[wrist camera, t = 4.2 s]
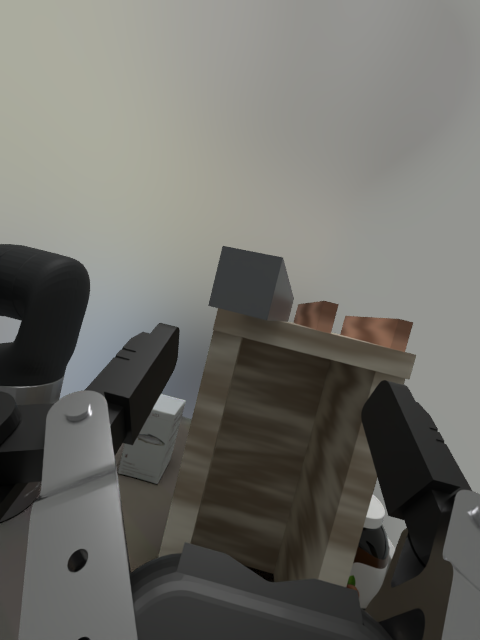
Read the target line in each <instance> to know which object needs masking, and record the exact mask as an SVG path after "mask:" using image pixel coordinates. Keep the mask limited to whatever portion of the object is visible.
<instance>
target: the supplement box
mask: <svg viewBox="0 0 480 640" xmlns="http://www.w3.org/2000/svg"><path fill="white" fill-rule="evenodd" d="M185 402H186V401H185V400H182V399H178V398H174V397H171V396H167V395H163V394H161V395H160V397H159V398H158V400H157V402H156V404H155V406H154V407H153V409H152V411H151V413H150V415H149V417H148V418H147V420H146V422H145V424H144V426H143V428H142V429H141V431H140V433H139V435H138V437H137V438H136V440H135V442H134V444H133V445H129V444H125V445H124V450H123V454H122V458H121V462H120V466H119V470H118V474H124V475H127V476H131V477H135V478H138V479H142V480H145V481H149V482H152V483H155V484H158V483H159V481H160V479H161V477H162V475H163V473H164V471H165V469H166V467H167V465H168V463H169V462H170V459H171V456H172V452H173V448H174V445H175V441H176V437H177V433H178V429H179V425H180V421H181V417H182V413H183V409H184V406H185Z"/></svg>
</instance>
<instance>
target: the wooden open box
mask: <svg viewBox="0 0 480 640" xmlns="http://www.w3.org/2000/svg"><path fill="white" fill-rule="evenodd" d="M337 308H338V304H335V303H331V302H327V301H320V302H313V303H305V304H299V305H298V308H297V311H296V315H295V319H294V323H291V322H284V321H268V320H263V319H259V318H255V317H251V316H247V315H244V314H240V313H236V312H232V311H228V310H224V309H220V308H218V311H217V316H216V319H215V324H214V328H213V330H214V331H213V335H212V339H211V343H210V347H209V351H208V355H207V360H206V364H205V368H204V372H203V376H202V380H201V385H200V388H199V392H198V397H197V401H196V405H195V409H194V413H193V417H192V421H191V425H190V429H189V433H188V437H187V442H186V446H185V450H184V454H183V458H182V462H181V466H180V470H179V474H178V478H177V483H176V487H175V491H174V495H173V499H172V503H171V507H170V511H169V515H168V519H167V524H166V528H165V532H164V536H163V540H162V544H161V548H160V552H159V556H158V558H159V557H161V556H165V555H169V554H176V553H182V550H183V546H184V543H185V542H186V543H190V544H194V545H197V546H201V547H204V548H208V549H211V550H215V551H218V552H222V553H226V554H228V555H229V556H231V557H232V558H233V559H235V560H236V561H238V562H239V563H241V564H242V565H244V566H248V567H251V568H255V569H258V570H262V571H265V572H269V573H272V574H273V575H274V582H283V581H293V580H304V579H314V578H315V579H318V580H322V581H325V582H329V583H332V584H336V585H339V586H343V587H346V586H347V583H348V579H349V576H350V572H351V569H352V565H353V562H354V558H355V555H356V551H357V547H358V544H359V540H360V537H361V533H362V530H363V526H364V523H365V519H366V516H367V512H368V509H369V505H370V502H371V498H372V494H373V491H374V487H375V484H376V480H377V474H376V470H375V466H374V463H373V459H372V456H371V452H370V449H369V445H368V442H367V438H366V435H365V431H364V428H363V424H362V420H361V412H362V408H363V406H364V404H365V403H366V401H367V400H368V398H369V397H370V396H371V394H372V393H373V391H374V390H375V388H376V387H377V386H378V384H379V383H380V382H381V381H383V380H386V381H390V382H394V383H398V384H402V385H404V381H405V379H410V375H411V372H412V368H413V365H414V361H415V358H416V355H414V354H411V353H407V352H405V349H406V346H407V343H408V339H409V335H410V332H411V328H412V325H413V322H409V321H404V320H400V319H389V318H372V317H354V316H345V320H344V323H343V327H342V330H341V334H340V335H339V334H335V333H331V331H332V327H333V323H334V319H335V316H336V312H337Z"/></svg>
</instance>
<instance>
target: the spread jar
mask: <svg viewBox="0 0 480 640" xmlns="http://www.w3.org/2000/svg"><path fill="white" fill-rule="evenodd" d="M384 514H385V510H384V507H383V506H382V504H381V502H380V501H379V500H378V499H377V498H376V497H375V496H374V495H373V494H372V498H371V502H370V505H369V509H368V512H367V516H366V519H365V523H364V526H363V530H362V533H361V537H360V540H359V544H358V547H357V551H356V555H355V558H354V562H353V565H352V569H351V572H350V576H349V579H348V583H347V586H346V587H347V588H350V589H354V590H357V591H358V596H359V602H360V607H361V608H362V609H363V610H365V609H366V608H367V606H368V604H369V603H370V601H371V600H372V599H373V598H374V596H375V595H376V594H377V593H378V591H379V590H380V588H381V586H382V584H383V581H384V578H385V576H386V573H387V570H388V568H389V565H390V562H391V560H392V557H393V554H394V552H395V548H394V546H393V544H392V543H391V541H390V540H389V538H388V537H387V534H386V531H385V529H384V527H383V525H382V522H383V518H384Z"/></svg>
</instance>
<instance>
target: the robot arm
mask: <svg viewBox="0 0 480 640" xmlns="http://www.w3.org/2000/svg"><path fill="white" fill-rule="evenodd" d="M89 294H90V279H89V275H88V272H87V270H86V269H85V267H84V266H83V264H81V263H80V262H79V261H77V260H75V259H73V258H70V257H66V256H62V255H59V254H55V253H51V252H47V251H43V250H39V249H35V248H31V247H27V246H22V245H11V244H0V316H6V317H10V318H14V319H18V320H22V322H21V325H20V328H19V331H18V334H17V336H16V339H15V341H14V342H11V343H2V344H0V522H2V521H4V520H7V519H9V518H11V517H13V516H15V515H17V514H18V513H20V512H21V511H23V510H24V509H26V508H27V507H28V506H29V505H30V504H31V503H32V502H33V501H34V500H35V498H36V497H37V495H38V493H39V489H40V484H41V481H42V485H41V493H40V496H39V498H38V499H36V500H35V501H34V503H33V506H32V510H31V516H30V524H29V535H28V545H27V556H26V566H25V577H24V587H23V598H22V608H21V618H20V629H19V639H18V640H480V494H478V493H476V492H473V491H472V490H471V488H470V486H469V484H468V482H467V481H466V479H465V477H464V475H463V474H462V472H461V470H460V468H459V466H458V465H457V463H456V461H455V459H454V458H453V456H452V454H451V452H450V450H449V449H448V447H447V445H446V444H444V440H443V438H442V436H441V434H440V433H439V432H437V430H438V429H437V427H436V425H435V424H434V422H433V420H432V418H431V416H430V415H429V414H428V413H427V412H426V411H425V410H424V409H423V407H422V406H421V405H420V404H419V403H418V402H415V400H414V398H413V396H412V394H411V392H410V390H409V389H408V387H407V386H405V385H402V384H398V383H394V382H390V381H386V380H383V381H381V382H380V383H379V384H378V386H377V387H376V388H375V390H374V391H373V393H372V394H371V396H370V397H369V398H368V400H367V401H366V403H365V404H364V406H363V408H362V412H361V420H362V424H363V428H364V431H365V435H366V438H367V442H368V445H369V449H370V452H371V456H372V459H373V463H374V466H375V470H376V474H377V477H378V481H379V484H380V488H381V491H382V494H383V498H384V501H385V505H386V509H387V512H388V515H389V516H391V517H395V518H399V519H402V520H405V523H406V526H407V528H406V529H405V530H403V532H402V533H401V536H400V539H399V541H398V544H397V547H396V549H395V552H394V554H393V557H392V560H391V562H390V565H389V568H388V570H387V573H386V576H385V578H384V581H383V584H382V586H381V588H380V590H379V591H378V593H377V594H376V595H375V596H374V598H373V599H372V600H371V601H370V603H369V604H368V606H367V608H366V609H365V611H364V610H363V609H362V608H361V607H360V602H359V596H358V591H357V590H354V589H350V588H347V587H343V586H339V585H336V584H332V583H329V582H325V581H322V580H318V579H315V578H314V579H304V580H293V581H283V582H269V581H266V580H265V579H263V578H262V577H260V576H259V575H257V574H256V573H254V572H253V571H251V570H250V569H248V568H247V567H245V566H244V565H242V564H241V563H239V562H238V561H236V560H235V559H233V558H232V557H231V556H229V555H228V554H226V553H222V552H218V551H215V550H211V549H208V548H204V547H201V546H197V545H194V544H190V543H186V542H185V543H184V546H183V550H182V553H176V554H169V555H165V556H161V557H159V558H156V559H154V560H151V561H149V562H147V563H146V564H144V565H142V566H140V567H139V568H137V569H136V570H134V571H133V572H132V573H131V571H130V563H129V556H128V548H127V541H126V534H125V527H124V520H123V512H122V505H121V497H120V490H119V482H118V475H117V467H116V460H115V455H116V453H117V451H118V450H119V448H120V446H121V445H122V443H125V444H129V445H133V444H134V442H135V440H136V438H137V437H138V435H139V433H140V431H141V429H142V428H143V426H144V424H145V422H146V420H147V418H148V417H149V415H150V413H151V411H152V409H153V407H154V406H155V404H156V402H157V400H158V398H159V397H160V395H161V393H162V391H163V389H164V387H165V386H166V384H167V382H168V380H169V378H170V376H171V375H172V373H173V371H174V369H175V365H176V362H177V358H178V345H179V328H178V327H175V326H171V325H167V324H163V323H159V324H158V325H157V326H156V327H155V329H154V330H153V331H152V332H151V333H150V334H149V333H145V332H142V333H140V334H138V335H137V336H135V337H133V338H131V339H130V340H129V341H128V342H127V343H126V345H125V346H124V347H123V349H122V350H120V351H119V352H118V353H117V355H116V357H115V358H113V359H112V360H111V361H110V362H109V364H108V365H107V366H106V367H105V368H104V369H103V370H102V371H101V373H100V374H99V375H98V376H97V377H96V378H95V379H94V380H93V382H92V383H91V384H90V385H89V386H88V387H87V388H86V389H85V390H84V391H78V392H74V393H71V394H69V395H66V396H64V397H63V398H61V399H60V400H59V397H60V393H61V388H62V383H63V378H64V374H65V370H66V366H67V364H68V362H69V360H70V358H71V356H72V354H73V352H74V350H75V347H76V343H77V339H78V336H79V332H80V329H81V325H82V322H83V318H84V315H85V311H86V308H87V304H88V300H89Z"/></svg>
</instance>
